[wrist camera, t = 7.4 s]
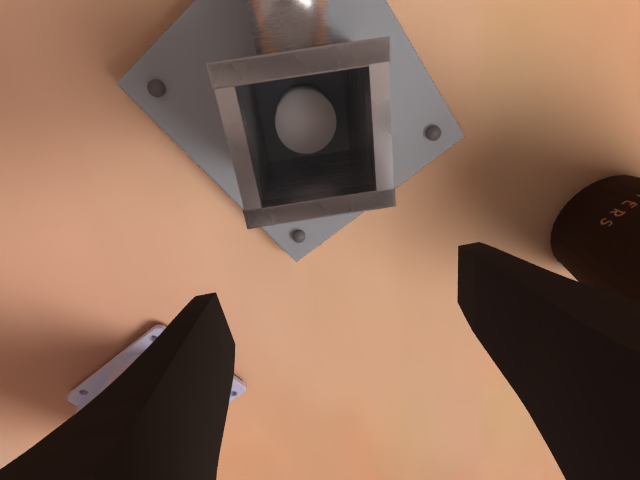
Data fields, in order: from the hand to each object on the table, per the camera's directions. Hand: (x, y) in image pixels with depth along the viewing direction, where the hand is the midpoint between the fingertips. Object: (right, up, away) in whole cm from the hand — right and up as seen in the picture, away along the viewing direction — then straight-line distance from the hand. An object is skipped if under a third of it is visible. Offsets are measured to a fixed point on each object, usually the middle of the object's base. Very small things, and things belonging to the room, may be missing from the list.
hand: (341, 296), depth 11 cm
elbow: (-2, +9, +5) cm, 11 cm away
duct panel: (-2, +8, +7) cm, 11 cm away
